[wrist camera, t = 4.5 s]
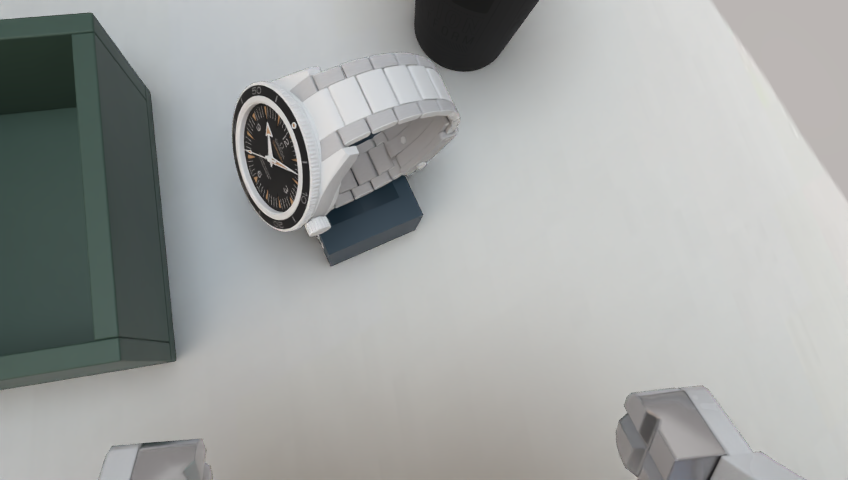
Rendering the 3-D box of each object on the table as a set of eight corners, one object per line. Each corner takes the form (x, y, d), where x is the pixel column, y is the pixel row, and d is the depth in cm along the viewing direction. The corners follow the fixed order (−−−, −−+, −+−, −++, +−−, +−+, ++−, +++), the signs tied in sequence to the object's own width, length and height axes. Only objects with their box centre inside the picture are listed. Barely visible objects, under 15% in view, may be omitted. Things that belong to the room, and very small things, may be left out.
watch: (244, 176, 29) (183, 65, 18) (400, 115, 30) (430, -20, 19) (291, 285, 28) (257, 238, 17) (448, 217, 29) (508, 135, 19)
